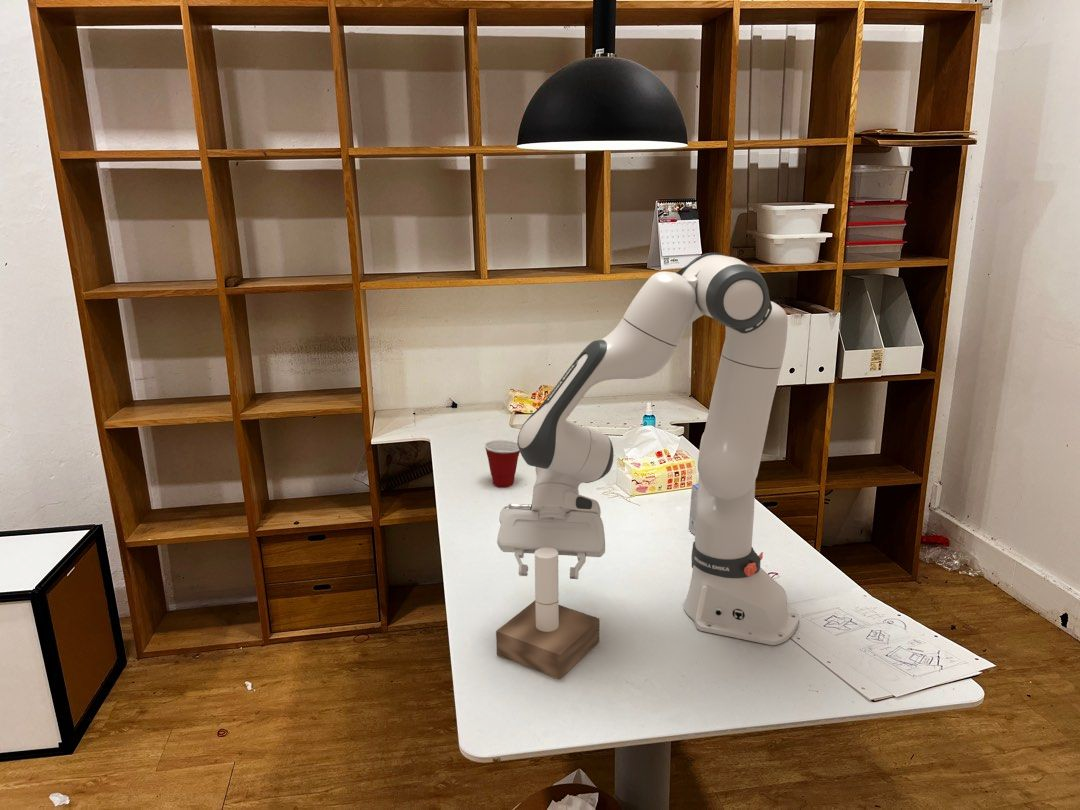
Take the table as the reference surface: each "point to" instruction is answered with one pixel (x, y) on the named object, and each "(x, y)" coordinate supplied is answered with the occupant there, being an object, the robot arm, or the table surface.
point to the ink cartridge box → (693, 509)
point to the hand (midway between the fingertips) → (548, 576)
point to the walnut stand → (548, 640)
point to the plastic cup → (502, 461)
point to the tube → (546, 589)
